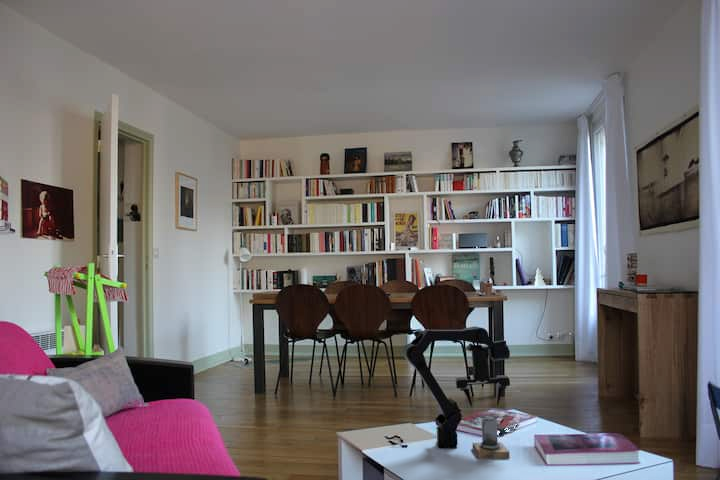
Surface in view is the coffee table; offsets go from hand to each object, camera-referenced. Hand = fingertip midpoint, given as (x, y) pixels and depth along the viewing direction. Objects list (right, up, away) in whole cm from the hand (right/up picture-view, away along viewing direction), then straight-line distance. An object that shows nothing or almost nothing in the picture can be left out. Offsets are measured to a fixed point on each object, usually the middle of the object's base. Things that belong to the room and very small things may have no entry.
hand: (484, 405), depth 198 cm
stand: (0, -13, -11) cm, 17 cm away
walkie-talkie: (+11, -15, +16) cm, 24 cm away
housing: (-1, -11, -11) cm, 15 cm away
